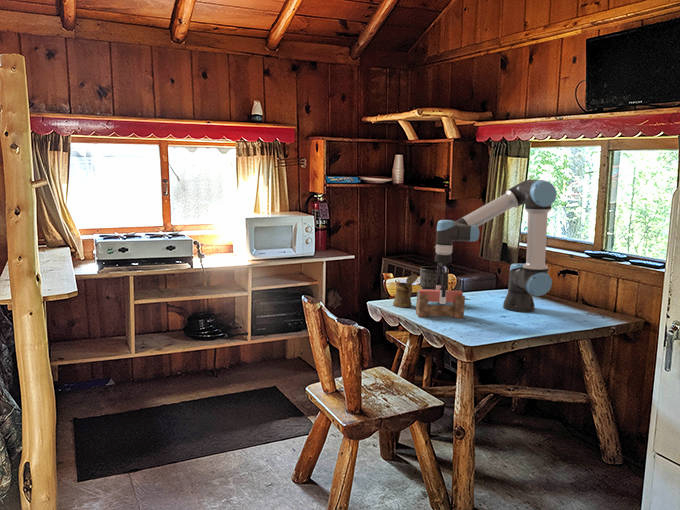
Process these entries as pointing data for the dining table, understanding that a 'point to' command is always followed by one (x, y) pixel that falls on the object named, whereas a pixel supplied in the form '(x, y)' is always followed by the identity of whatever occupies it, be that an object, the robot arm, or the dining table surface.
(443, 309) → the wooden cradle
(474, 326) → the dining table surface
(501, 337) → the dining table surface
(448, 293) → the rail
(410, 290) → the brown jug
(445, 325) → the dining table surface
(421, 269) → the planter
